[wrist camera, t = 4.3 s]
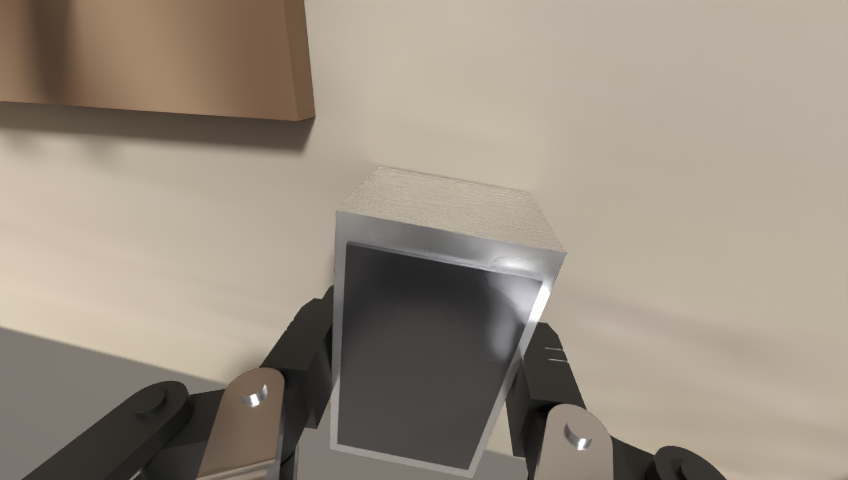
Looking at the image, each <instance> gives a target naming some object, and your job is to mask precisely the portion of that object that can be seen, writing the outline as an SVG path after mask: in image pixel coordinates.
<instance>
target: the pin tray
mask: <svg viewBox="0 0 848 480" xmlns="http://www.w3.org/2000/svg"><path fill="white" fill-rule="evenodd" d="M0 101H9V102H23V103H38V104H53V105H68V106H83V107H97V108H112V109H127V110H142V111H157V112H172V113H186V114H201V115H216V116H231V117H246V118H261V119H275V120H290V121H300V120H304V119H308V118H312V117H315V108H314V98H313V88H312V78H311V68H310V58H309V48H308V38H307V28H306V17H305V7H304V0H0Z"/></svg>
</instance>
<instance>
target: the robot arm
mask: <svg viewBox="0 0 848 480" xmlns="http://www.w3.org/2000/svg"><path fill="white" fill-rule="evenodd" d="M333 303H334V285H332V286H330V287H329V289H328V290H327V292H326V294H325V295H324V297H323V298H322V299H316V298H314V299H313V300H311V301H310V302H308V303H307V304H306V305H304V306H303V307H301V309H300V310H299V312H298V313H297V315H296V316H295V317H294V320H293V321H292V322H291V323H290V325H289V326H288V327H287V331H286V330H285V332H284V333H283V335H282V336H281V337H280V339H279V340H278V342H277V343H276V345H275V346H274V347H273V349H272V350H271V352H270V353H269V355H268V356H267V357H266V359H265V360H264V362H263V363H262V365H261V366H260V367H259V368H257V369H253V370H250V371H248V372H246V373H243V374H242V375H240V376H239V377H237V378H236V379H235V380H233V381H232V382H231V383H230V384H229V386H228V387H227V388H226V389H222V390H216V391H210V392H204V393H198V394H192V395H189V393H188V391H187V388H186V386H185V385H184V384H182V383H180V382H177V381H165V382H160V383H156V384H153V385H150V386H148V387H146V388H144V389H142V390H140V391H138V392H137V393H135V394H134V395H132V396H131V397H129V398H128V399H127V400H125V401H124V402H123V403H121V404H120V405H119V406H118V407H116V408H115V409H113V410H112V411H111V412H110V413H108V414H107V415H106V416H104V417H103V418H102V419H100V420H99V421H98V422H96V423H95V424H94V425H93V426H91V427H90V428H89V429H87V430H86V431H85V432H83V433H82V434H81V435H79V436H78V437H77V438H76V439H74V440H73V441H72V442H70V443H69V444H68V445H66V446H65V447H64V448H62V449H61V450H60V451H59V452H57V453H56V454H55V455H53V456H52V457H51V458H50V459H48V460H47V461H46V462H44V463H43V464H41V465H40V466H39V467H38V468H36V469H35V470H34V471H32V472H31V473H30V474H29V475H27V476H26V477H24V478H23V479H22V480H129V479H130V478H131V477H132V476H134V475H135V473H137V471H139V472H140V474H139V475H138V476H137V477H136V478H135V479H134V480H297V467H298V466H297V465H298V451H299V450H298V449H299V447H298V441H299V438H300V436H301V434H302V432H303V430H304V427H306V428H314V429H317V427H318V425H319V422H320V420H321V418H322V415H323V413H324V410H325V408H326V405H327V403H328V401H329V398H330V396H331V393H332V391H333V384H332V339H333ZM505 401H506V408H507V415H508V422H509V429H510V436H511V443H512V450H513V456H517V457H524V458H526V464H527V470H528V473H527V476H526V479H525V480H726V479H725V478H724V476H723V475H722V474H721V473H720V472H719V471H718V470H717V469H716V468H715V467H714V466H712V465H711V464H710V463H709V462H707V461H706V460H705V459H703V458H702V457H700V456H699V455H697V454H695V453H693V452H691V451H689V450H687V449H684V448H681V447H676V446H665V447H662V448H660V449H659V450H658V451H657V453H656V454H655V455H653V454H650V453H648V452H645V451H643V450H641V449H638V448H636V447H633V446H631V445H629V444H626V443H624V442H622V441H620V440H618V439H616V438H614V437H612V436H611V435H609V433H608V431H607V429H606V428H605V426H604V425H603V424H602V422H601V421H600V420H599V419H598V418H597V417H596V416H594V415H593V414H592V413H590V412H589V411H587V409H586V407H585V404H584V402H583V399H582V397H581V394H580V391H579V389H578V386H577V384H576V381H575V378H574V376H573V373H572V371H571V368H570V365H569V363H567V358H566V355H565V353H564V351H563V347H562V345H561V342H560V340H559V337H558V335H557V334H556V333H555V332H554V330H553V329H552V328H551V327H550V326H549V325H548V324H547V323H541V322H538V323H537V325H536V328H535V330H534V332H533V335H532V337H531V339H530V342H529V344H528V347H527V349H526V351H525V354H524V356H521V360H520V364H519V367H518V370H517V373H516V375H515V378H514V380H513V382H512V385H511V387H510V389H509V392H508V394H507V397H506V399H505Z"/></svg>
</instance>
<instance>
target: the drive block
mask: <svg viewBox="0 0 848 480" xmlns="http://www.w3.org/2000/svg"><path fill="white" fill-rule="evenodd" d="M566 254H567V252H566V251H565V249H564V247H563V246H562V244H561V242H560V241H559V239H558V238H557V236H556V234H555V233H554V231H553V230H552V228H551V226H550V225H549V223H548V222H547V220H546V218H545V217H544V215H543V214H542V212H541V210H540V209H539V207H538V205H537V204H536V202H535V201H534V199H533V197H532V196H531V194H530V193H525V192H520V191H514V190H509V189H503V188H498V187H492V186H487V185H481V184H476V183H470V182H465V181H459V180H454V179H448V178H443V177H437V176H432V175H426V174H421V173H415V172H410V171H404V170H399V169H393V168H388V167H382V166H378V167H377V168H376V169H375V170H374V171H373V173H372V174H371V175H370V176H369V177H368V178H367V179H366V180H365V181H364V182H363V183H362V184H361V185H360V186H359V187H358V188H357V189H356V190H355V191H354V192H353V193H352V194H351V195H350V196H349V197H348V198H347V199H346V200H345V201H344V202H343V203H342V204H341V205H340V206H339V207H338V209H337V210H336V230H335V267H334V303H333V339H332V384H333V391H332V393H331V412H330V450H334V451H340V452H344V453H349V454H354V455H359V456H364V457H369V458H374V459H380V460H384V461H389V462H394V463H399V464H404V465H409V466H414V467H419V468H423V469H428V470H433V471H438V472H444V473H448V474H453V475H458V476H463V477H468V478H473V475H474V473H475V470H476V468H477V466H478V463H479V461H480V458H481V456H482V454H483V451H484V449H485V447H486V444H487V442H488V439H489V437H490V435H491V432H492V430H493V428H494V425H495V423H496V420H497V418H498V416H499V413H500V411H501V409H502V406H503V404H504V401H505V399H506V397H507V394H508V392H509V389H510V387H511V385H512V382H513V380H514V378H515V375H516V373H517V370H518V367H519V364H520V360H521V356H524V354H525V351H526V349H527V347H528V344H529V342H530V339H531V337H532V335H533V332H534V330H535V328H536V325H537V323H538V320H539V318H540V316H541V313H542V311H543V309H544V306H545V304H546V301H547V299H548V297H549V294H550V292H551V289H552V287H553V285H554V282H555V280H556V278H557V275H558V273H559V270H560V268H561V266H562V263H563V261H564V258H565V256H566Z"/></svg>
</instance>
